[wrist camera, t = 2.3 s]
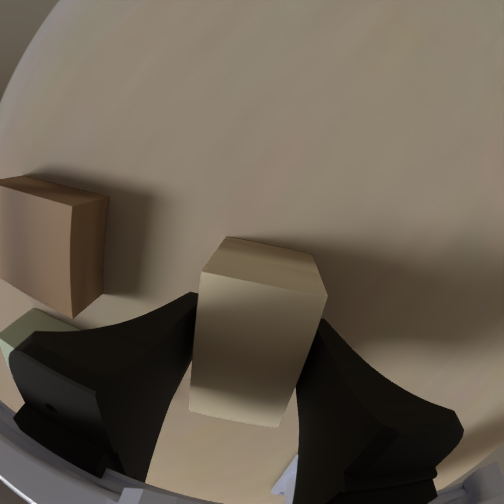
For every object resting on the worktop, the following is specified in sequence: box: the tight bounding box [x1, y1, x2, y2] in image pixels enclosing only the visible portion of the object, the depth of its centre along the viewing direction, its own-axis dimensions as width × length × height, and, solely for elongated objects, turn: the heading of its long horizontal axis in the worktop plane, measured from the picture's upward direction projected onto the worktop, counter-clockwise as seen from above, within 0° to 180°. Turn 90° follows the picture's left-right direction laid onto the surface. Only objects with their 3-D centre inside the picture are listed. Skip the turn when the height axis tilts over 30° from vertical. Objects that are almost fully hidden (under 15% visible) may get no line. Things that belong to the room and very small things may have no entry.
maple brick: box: [189, 237, 328, 428], centre depth 10 cm, size 6×4×4 cm, turn 170°
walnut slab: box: [0, 176, 109, 319], centre depth 11 cm, size 7×5×3 cm
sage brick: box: [0, 308, 80, 377], centre depth 12 cm, size 6×4×4 cm, turn 79°
